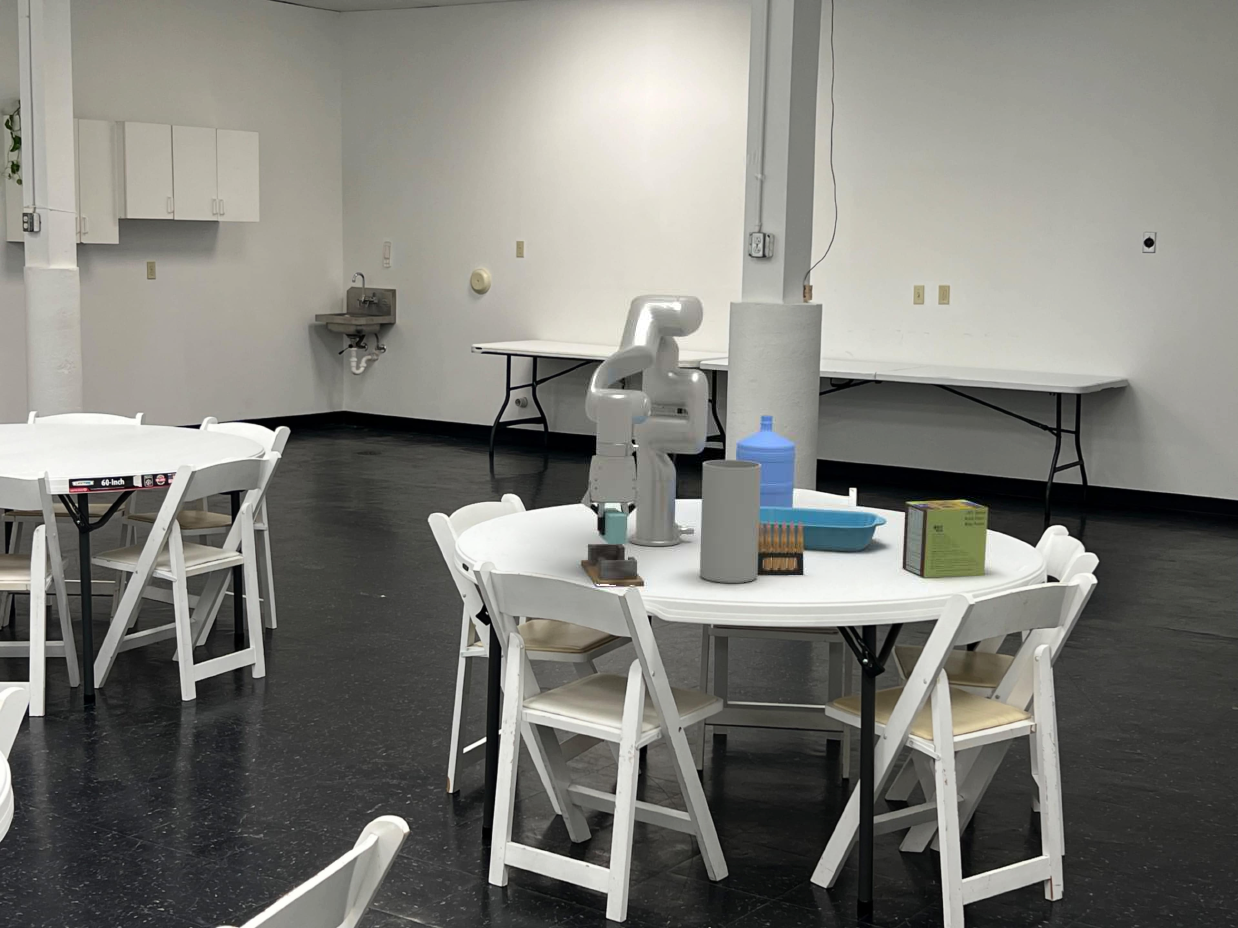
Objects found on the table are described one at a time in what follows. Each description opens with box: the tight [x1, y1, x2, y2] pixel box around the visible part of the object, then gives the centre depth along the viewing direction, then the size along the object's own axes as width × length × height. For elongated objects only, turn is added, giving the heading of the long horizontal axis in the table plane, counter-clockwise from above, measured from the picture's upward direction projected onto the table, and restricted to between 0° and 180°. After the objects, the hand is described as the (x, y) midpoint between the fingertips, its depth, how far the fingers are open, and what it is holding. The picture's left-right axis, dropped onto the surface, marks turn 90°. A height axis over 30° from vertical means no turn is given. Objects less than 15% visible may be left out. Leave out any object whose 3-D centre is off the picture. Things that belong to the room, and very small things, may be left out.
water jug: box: [735, 414, 796, 508], centre depth 372 cm, size 16×16×28 cm
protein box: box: [902, 499, 989, 579], centre depth 314 cm, size 10×15×16 cm
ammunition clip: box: [757, 521, 805, 576], centre depth 308 cm, size 11×2×12 cm, turn 94°
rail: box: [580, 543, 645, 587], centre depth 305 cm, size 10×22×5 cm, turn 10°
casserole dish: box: [759, 507, 887, 552], centre depth 345 cm, size 37×22×7 cm, turn 75°
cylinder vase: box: [699, 459, 761, 584], centre depth 303 cm, size 12×12×25 cm
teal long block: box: [598, 507, 628, 545], centre depth 303 cm, size 4×14×6 cm, turn 11°
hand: (611, 533), depth 303 cm, fingers closed on teal long block, 3 cm apart
